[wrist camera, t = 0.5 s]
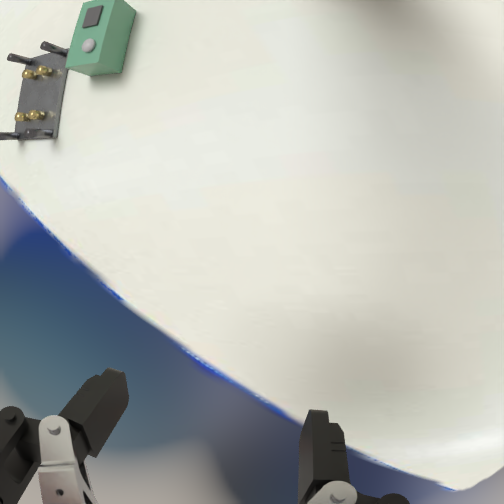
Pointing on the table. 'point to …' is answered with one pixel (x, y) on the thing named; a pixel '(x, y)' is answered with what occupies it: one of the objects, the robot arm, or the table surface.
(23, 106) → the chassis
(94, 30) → the module block
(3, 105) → the table surface
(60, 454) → the robot arm
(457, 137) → the table surface
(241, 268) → the table surface
